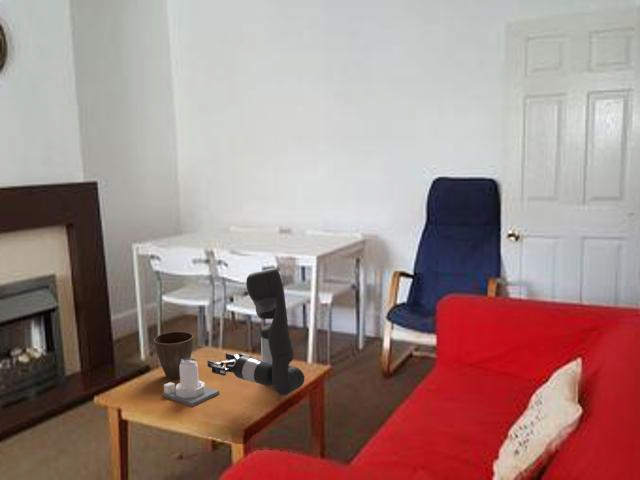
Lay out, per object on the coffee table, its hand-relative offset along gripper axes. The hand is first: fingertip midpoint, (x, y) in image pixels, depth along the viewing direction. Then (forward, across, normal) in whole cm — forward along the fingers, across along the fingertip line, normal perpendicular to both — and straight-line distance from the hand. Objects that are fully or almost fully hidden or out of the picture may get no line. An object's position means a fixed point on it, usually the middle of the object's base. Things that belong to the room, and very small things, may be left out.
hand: (217, 359), depth 215 cm
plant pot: (+32, -7, +17) cm, 37 cm away
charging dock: (+14, +2, +16) cm, 21 cm away
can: (+13, +2, +15) cm, 20 cm away
